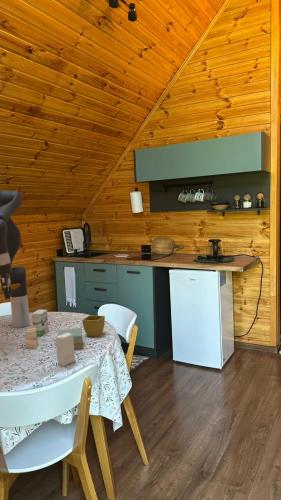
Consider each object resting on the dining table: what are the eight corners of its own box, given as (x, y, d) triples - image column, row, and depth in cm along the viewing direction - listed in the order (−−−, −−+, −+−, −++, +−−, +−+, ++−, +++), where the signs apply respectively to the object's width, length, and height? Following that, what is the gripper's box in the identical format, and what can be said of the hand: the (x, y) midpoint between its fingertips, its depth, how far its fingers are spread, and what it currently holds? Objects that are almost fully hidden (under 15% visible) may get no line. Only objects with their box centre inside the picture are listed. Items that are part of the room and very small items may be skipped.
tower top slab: (58, 337, 182) (58, 330, 181) (82, 334, 184) (81, 327, 183) (57, 345, 171) (57, 338, 171) (82, 342, 173) (82, 335, 172)
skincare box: (68, 359, 162) (66, 331, 161) (75, 361, 160) (73, 333, 158) (57, 364, 158) (54, 336, 156) (64, 366, 155) (61, 338, 153)
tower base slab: (59, 344, 182) (58, 337, 182) (82, 342, 184) (81, 335, 184) (58, 353, 171) (58, 345, 171) (83, 350, 173) (82, 342, 173)
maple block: (27, 345, 182) (26, 329, 181) (37, 344, 183) (36, 328, 182) (26, 348, 177) (25, 332, 177) (36, 347, 178) (35, 331, 177)
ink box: (41, 336, 194) (40, 313, 192) (33, 336, 195) (31, 313, 193) (49, 330, 202) (47, 309, 201) (40, 330, 203) (38, 308, 202)
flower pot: (90, 331, 197) (89, 314, 196) (106, 332, 194) (105, 315, 193) (82, 337, 189) (81, 319, 188) (98, 338, 186) (97, 320, 185)
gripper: (9, 264, 169) (15, 299, 172) (11, 258, 183) (18, 290, 186) (-9, 267, 167) (-2, 302, 171) (-5, 261, 181) (2, 293, 184)
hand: (8, 296), depth 178 cm, fingers open, 8 cm apart
